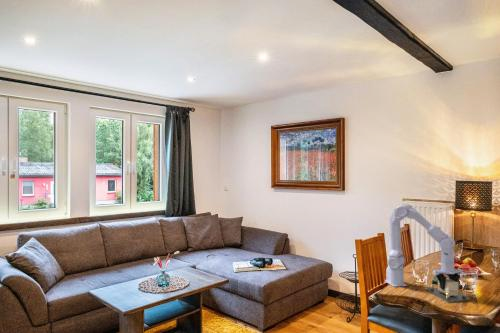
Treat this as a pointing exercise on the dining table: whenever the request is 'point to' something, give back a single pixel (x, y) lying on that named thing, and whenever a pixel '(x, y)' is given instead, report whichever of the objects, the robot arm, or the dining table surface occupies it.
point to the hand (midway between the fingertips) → (447, 288)
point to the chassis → (448, 295)
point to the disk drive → (435, 280)
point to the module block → (449, 287)
